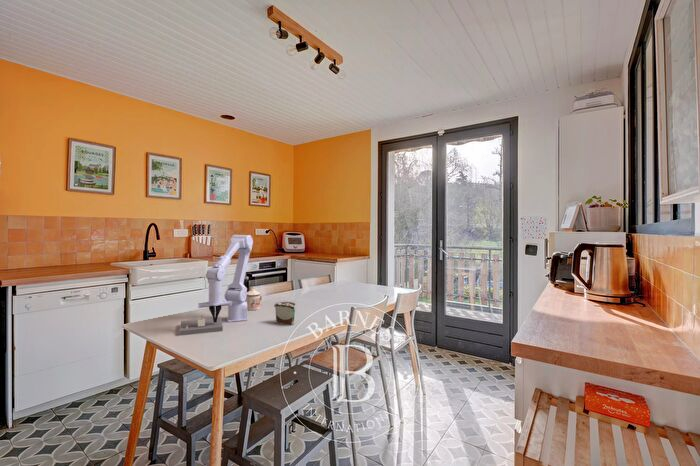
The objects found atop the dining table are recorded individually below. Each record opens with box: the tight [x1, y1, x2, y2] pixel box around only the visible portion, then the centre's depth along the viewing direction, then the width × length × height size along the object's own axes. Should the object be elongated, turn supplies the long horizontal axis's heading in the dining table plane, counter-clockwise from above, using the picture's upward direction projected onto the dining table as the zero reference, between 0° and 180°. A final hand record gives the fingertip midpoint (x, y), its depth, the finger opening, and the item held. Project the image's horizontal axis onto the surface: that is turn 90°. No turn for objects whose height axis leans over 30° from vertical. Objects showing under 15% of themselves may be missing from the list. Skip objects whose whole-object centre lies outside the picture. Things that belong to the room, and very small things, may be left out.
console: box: [178, 317, 224, 336], centre depth 157 cm, size 18×16×2 cm
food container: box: [273, 301, 297, 326], centre depth 169 cm, size 12×6×10 cm, turn 65°
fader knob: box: [197, 315, 206, 327], centre depth 155 cm, size 3×4×4 cm
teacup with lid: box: [244, 288, 263, 311], centre depth 195 cm, size 12×9×12 cm
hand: (215, 321), depth 157 cm, fingers closed
